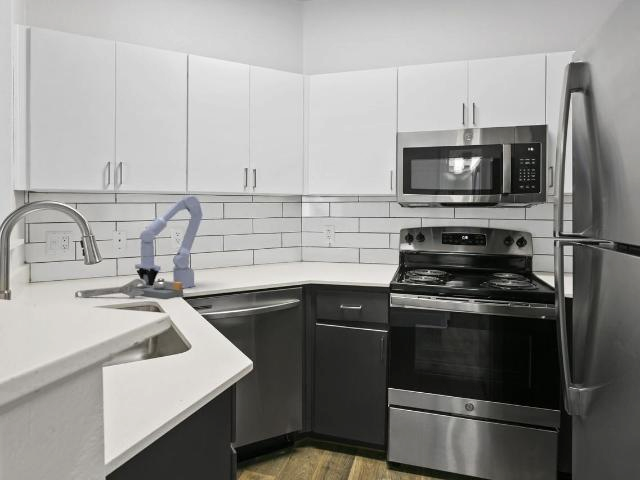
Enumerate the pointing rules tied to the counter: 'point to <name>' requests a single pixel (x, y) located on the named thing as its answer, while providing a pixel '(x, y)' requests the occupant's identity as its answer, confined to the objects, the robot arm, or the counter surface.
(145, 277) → the steel pin
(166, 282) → the silver elongated block
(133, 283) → the wrench
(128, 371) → the counter surface
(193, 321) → the counter surface
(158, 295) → the pin board
